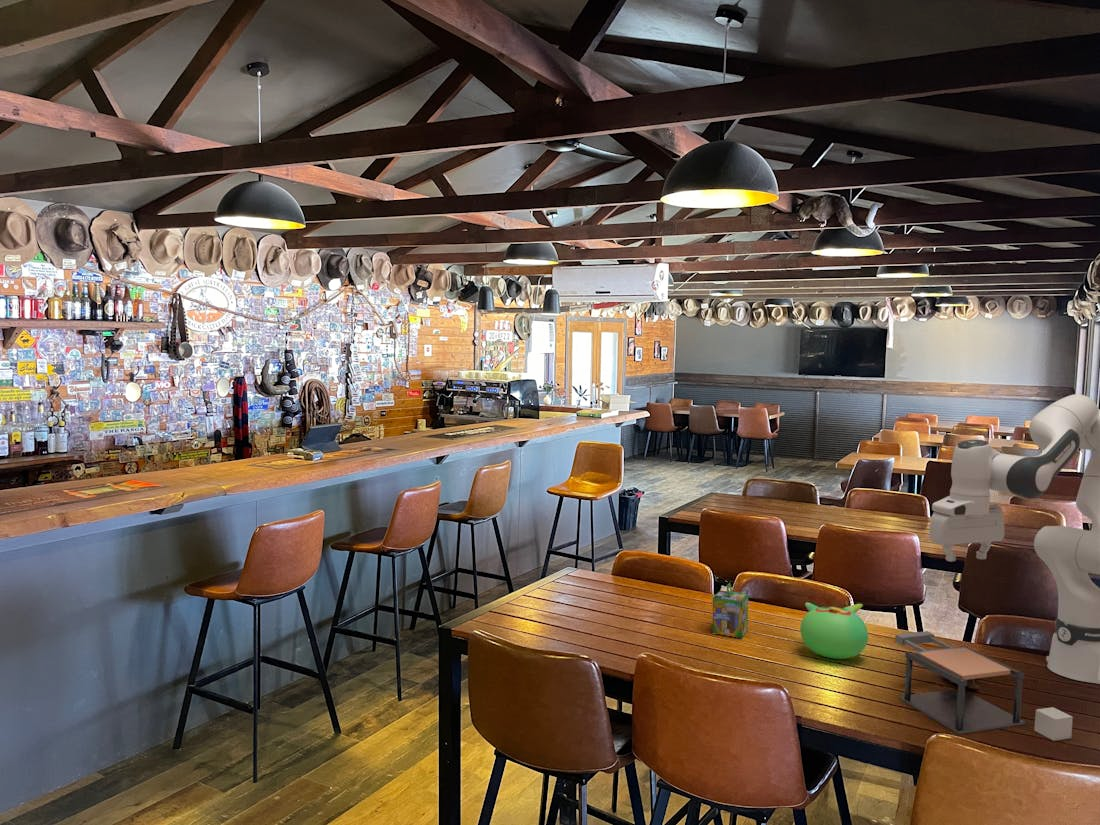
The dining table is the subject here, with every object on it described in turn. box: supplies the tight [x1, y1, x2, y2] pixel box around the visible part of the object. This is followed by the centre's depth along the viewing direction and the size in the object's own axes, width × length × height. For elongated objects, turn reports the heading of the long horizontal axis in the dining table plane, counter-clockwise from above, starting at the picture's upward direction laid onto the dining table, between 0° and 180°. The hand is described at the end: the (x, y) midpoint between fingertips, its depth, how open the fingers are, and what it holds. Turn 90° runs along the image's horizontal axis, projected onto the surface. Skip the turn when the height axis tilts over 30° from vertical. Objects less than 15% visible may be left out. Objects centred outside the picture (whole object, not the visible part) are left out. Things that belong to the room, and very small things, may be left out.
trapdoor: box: [894, 630, 1011, 680], centre depth 195 cm, size 24×14×2 cm, turn 17°
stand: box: [899, 645, 1026, 735], centre depth 191 cm, size 19×19×12 cm
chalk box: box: [711, 582, 750, 639], centre depth 242 cm, size 9×9×15 cm
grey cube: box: [1034, 706, 1074, 742], centre depth 180 cm, size 5×5×5 cm
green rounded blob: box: [799, 602, 869, 660], centre depth 225 cm, size 18×17×15 cm
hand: (965, 559), depth 199 cm, fingers open, 8 cm apart
